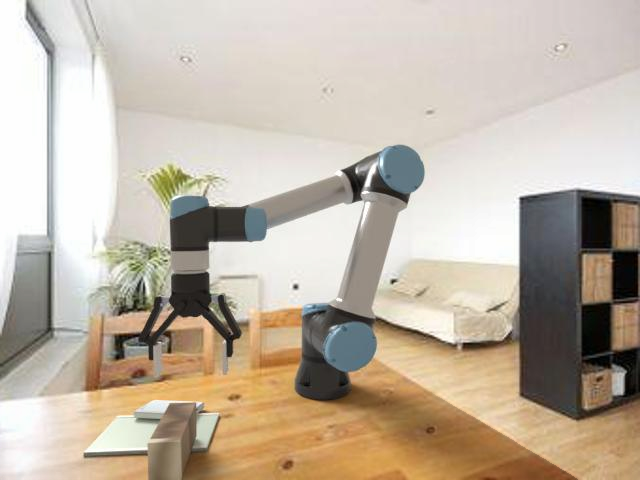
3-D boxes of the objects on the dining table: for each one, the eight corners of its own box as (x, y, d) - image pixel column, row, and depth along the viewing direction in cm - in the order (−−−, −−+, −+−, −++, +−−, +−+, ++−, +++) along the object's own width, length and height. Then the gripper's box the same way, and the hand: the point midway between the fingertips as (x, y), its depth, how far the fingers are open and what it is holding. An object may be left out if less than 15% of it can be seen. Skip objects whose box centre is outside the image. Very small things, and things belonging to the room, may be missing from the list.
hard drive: (133, 411, 81) (188, 413, 80) (154, 399, 89) (204, 400, 88) (133, 419, 81) (188, 421, 79) (154, 406, 89) (204, 408, 87)
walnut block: (196, 402, 73) (179, 441, 61) (196, 436, 74) (180, 481, 62) (169, 402, 73) (147, 442, 61) (170, 437, 73) (148, 483, 61)
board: (219, 415, 84) (219, 412, 84) (206, 451, 70) (206, 447, 70) (117, 418, 82) (117, 415, 82) (83, 456, 68) (83, 452, 68)
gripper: (253, 268, 82) (254, 364, 82) (134, 270, 79) (136, 370, 80) (250, 272, 74) (251, 378, 75) (119, 274, 72) (121, 384, 72)
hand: (192, 374), depth 77 cm, fingers open, 13 cm apart
